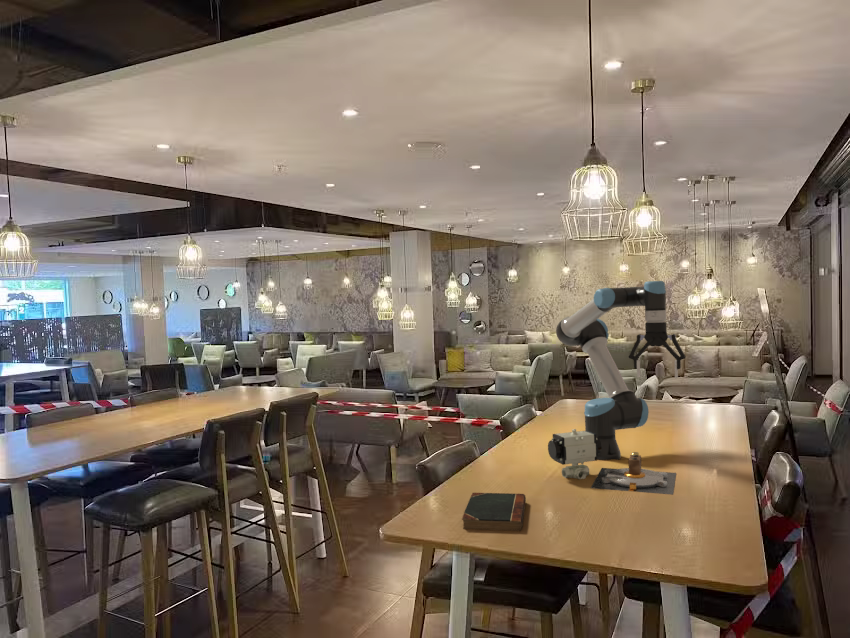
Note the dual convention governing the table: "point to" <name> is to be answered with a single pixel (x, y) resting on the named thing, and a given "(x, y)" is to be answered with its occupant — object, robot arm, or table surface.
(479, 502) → the book
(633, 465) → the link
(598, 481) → the base plate
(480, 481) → the table surface
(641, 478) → the turntable with brass post
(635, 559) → the table surface
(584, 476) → the ball valve
